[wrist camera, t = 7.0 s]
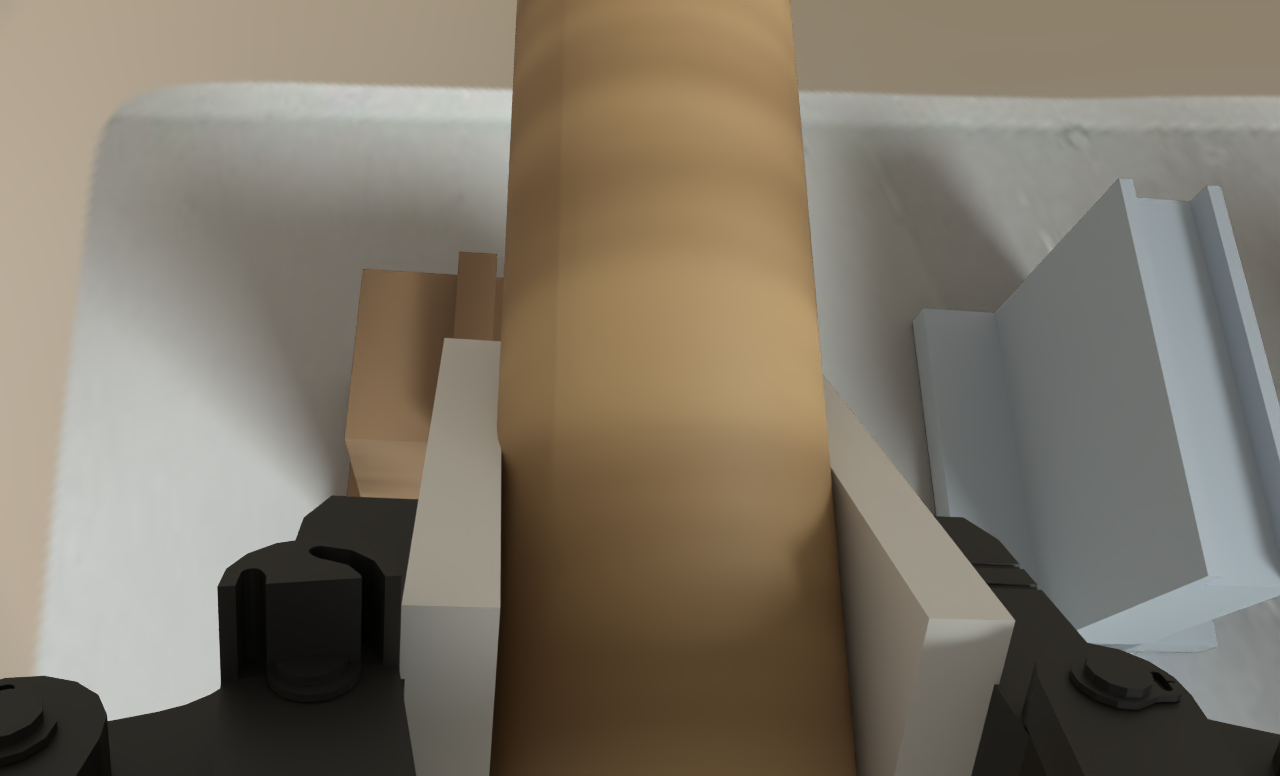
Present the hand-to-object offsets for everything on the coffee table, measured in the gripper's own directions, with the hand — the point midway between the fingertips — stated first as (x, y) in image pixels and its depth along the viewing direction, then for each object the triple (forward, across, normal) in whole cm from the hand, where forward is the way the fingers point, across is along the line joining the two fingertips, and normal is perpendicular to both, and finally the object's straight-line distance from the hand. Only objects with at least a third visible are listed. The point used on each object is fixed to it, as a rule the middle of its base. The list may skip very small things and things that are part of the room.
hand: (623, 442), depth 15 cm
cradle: (+17, +16, -8) cm, 25 cm away
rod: (+2, 0, +4) cm, 5 cm away
